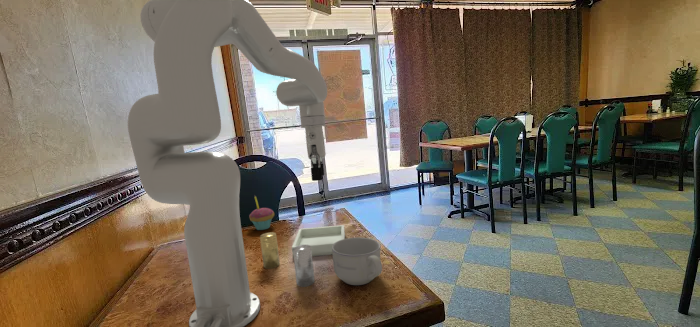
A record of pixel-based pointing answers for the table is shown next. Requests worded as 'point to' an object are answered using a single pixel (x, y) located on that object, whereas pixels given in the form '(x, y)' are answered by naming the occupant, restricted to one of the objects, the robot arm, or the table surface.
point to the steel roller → (303, 265)
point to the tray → (319, 239)
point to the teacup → (357, 260)
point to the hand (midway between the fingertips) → (318, 177)
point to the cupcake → (261, 217)
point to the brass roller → (269, 250)
